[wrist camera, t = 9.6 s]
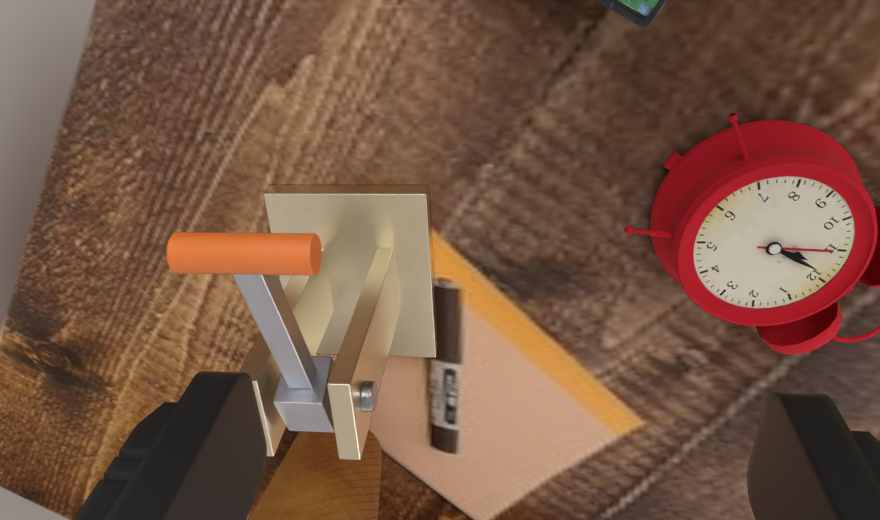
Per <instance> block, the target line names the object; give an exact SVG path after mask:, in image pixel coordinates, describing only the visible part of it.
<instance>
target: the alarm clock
mask: <svg viewBox="0 0 880 520" xmlns="http://www.w3.org/2000/svg"><path fill="white" fill-rule="evenodd" d="M727 119H728V121H729V122H732V125H733V127H730V128H727V129H725V130H722V131H720V132H718V133H716V134H714V135H712V136H710V137H708V138H706V139H705V140H703V141H702V142H700V143H698V144H697V145H696V146H694V147H693V148H691V149H690V150H689V151H688V152H687V153H685V154H684V155H683V156H681V155H680V154H678V153H677V151H676V150H675V151H674V152H673V154H672V155H671V156H670V157H669V158H668V159H667V160H666V161H665V163H664V164H663V165H664V167H665V168H667V169H668V170H670V171H669V172H668V174H667V175H666V176H665V178H664V180H663V181H662V183H661V185H660V187H659V189H658V191H657V193H656V196H655V199H654V202H653V206H652V210H651V218H650V230H641V229H633V228H632V226H626V227H625V233H626V234H629V235H630V234H631V233H639V234H647V235H649V236H651V238H652V243H653V246H654V249H655V252H656V254H657V256H658V259H659V260H660V262H661V264H662V266H663V267H664V268H665V270H666V271H667V272H668V273H669V274H670V276H672V277H673V278H674V279H675V280H676V281H677V282H678V283H680V284H681V286H682V288H683V290H684V291H685V292H686V294H687V295H688V296H689V297H690V298H691V299H692V300H693V301H694V302H695V303H696V304H697V305H699V306H700V307H701V308H702V309H704V310H705V311H707V312H708V313H710V314H711V315H713V316H715V317H718V318H720V319H722V320H725V321H728V322H731V323H735V324H740V325H747V326H756V327H757V330H758V333H759V335H760V337H761V338H762V340H763V341H764V342H765V343H766V344H767V345H768V346H769V347H770V348H771V349H773V350H775V351H777V352H779V353H784V354H793V355H794V354H802V353H806V352H810V351H812V350H815V349H817V348H819V347H821V346H823V345H824V344H826V343H827V342H829V341H830V340H835V341H839V342H856V341H861V340H864V339H867V338H869V337H871V336H873V335H875V334H877V333H879V332H880V326H879V327H877V328H876V329H874V330H872V331H870V332H868V333H866V334H863V335H860V336H856V337H850V338H845V337H838V336H835V335H836V334H837V332H838V330H839V328H840V325H841V322H842V315H841V310H840V307H839V305H838V303H837V302H836V301H837V300H838V299H840V298H841V297H842V296H843V295H845V294H848V293H849V292H850V291H852V290H853V289H854V287H853V286H854V285H855V284H856V283H857V282H858V280H859V282H861V283H863V284H865V285H867V286H870V287H875V288H880V206H879V207H877V208H876V209H875V208H874V205H873V202H872V199H871V197H870V195H869V193H868V192H867V190H866V189H865V187H864V186H863V185H862V180H861V176H860V173H859V171H858V168H857V166H856V164H855V162H854V161H853V159H852V158H851V156H850V155H849V154H848V152H847V151H846V150H845V149H844V148H843V147H842V146H841V145H840V144H839V143H838V142H837V141H835V140H834V139H833V138H832V137H830V136H829V135H827V134H826V133H824V132H822V131H820V130H818V129H816V128H814V127H811V126H808V125H805V124H802V123H797V122H793V121H784V120H761V121H754V122H748V123H744V124H740V125H738V124H737V120H738V115H737V114H736V113H732V114H729V115H728V118H727Z"/></svg>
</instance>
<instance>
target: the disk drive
mask: <svg viewBox="0 0 880 520" xmlns="http://www.w3.org/2000/svg"><path fill="white" fill-rule="evenodd" d="M594 1H596V2H598V3H600V4H601V5H603V6H604V7H606V8H610V9H612V10H614V11H615V12H617V13H619V14H621V15H622V16H624V17H625V18H627V19H628V20H630V21H632V22H633V23H636V24H637V25H639V26H641V27H644V28H648V27H649V26H650V25H651V24H652V22H653V21H654V19H655V18H656V16H657V15H658V14H659V12H660V11H661V9H662V8H663V6H664V5H665V3H666V2H667V0H594Z"/></svg>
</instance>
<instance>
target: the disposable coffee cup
mask: <svg viewBox="0 0 880 520" xmlns="http://www.w3.org/2000/svg"><path fill="white" fill-rule="evenodd" d="M381 464H382V449H381V446H380V444H379V442H378V441H377V439H376V438H375V437H374V436H373V435H372V434H371V433H370V432H369V431H368V433H367V437H366V441H365V445H364V448H363V452H362V456H361V459H360V460H347V459H339V454H338V448H337V442H336V436H335V432H334V433H332V432H308V431H299V433H298V434H297V436H296V438H295V440H294V441H293V443H292V445H291V447H290V448H289V450H288V452H287V454H286V455H285V457H284V459H283V461H282V462H281V464H280V466H279V468H278V469H277V471H276V473H275V474H274V476H273V478H272V480H271V481H270V483H269V485H268V487H267V488H266V490H265V492H264V494H263V495H262V497H261V499H260V501H259V502H258V504H257V506H256V507H255V509H254V511H253V513H252V514H251V516H250V518H249V520H378V509H379V495H380V494H379V493H380V481H381V479H380V478H381V467H382V465H381Z"/></svg>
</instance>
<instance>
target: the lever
mask: <svg viewBox="0 0 880 520" xmlns="http://www.w3.org/2000/svg"><path fill="white" fill-rule="evenodd" d="M167 261H168V265H169V267H170V269H171V270H172V271H173V272H174V273H177V274H232V276H233V278H234V280H235V282H236V284H237V286H238V288H239V290H240V292H241V294H242V296H243V298H244V300H245V302H246V304H247V306H248V308H249V310H250V312H251V314H252V316H253V318H254V320H255V322H256V324H257V326H258V328H259V330H260V332H261V334H262V336H263V338H264V340H265V342H266V344H267V346H268V348H269V350H270V352H271V354H272V356H273V358H274V360H275V362H276V364H277V366H278V368H279V370H280V372H281V374H280V377H279V381H278V385H277V389H276V393H275V397H274V401H273V403H274V405H275V407H276V409H277V410H278V412H279V414H280V416H281V418H282V419H283V421H284V423H285V425H286V427H287V428H288V430H289V431H308V432H332V433H334V432H335V430H334V423H333V417H332V411H331V405H330V399H329V393H328V387H327V383H328V380H329V378H330V375H331V372H332V370H333V367H334V361H333V359H332V357H327V356H311V354H310V352H309V350H308V347H307V345H306V342H305V340H304V338H303V335H302V333H301V331H300V328H299V326H298V323H297V321H296V319H295V316H294V314H293V311H292V309H291V307H290V304H289V302H288V299H287V297H286V295H285V292H284V290H283V288H282V285H281V283H280V280H279V278H278V276H277V275H300V276H315V275H317V274H318V273H319V270H320V267H321V261H322V247H321V241H320V238H319V236H318V235H317V234H315V233H208V232H176V233H174V234H173V235H172V236H171V237H170V239H169V242H168V245H167Z"/></svg>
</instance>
